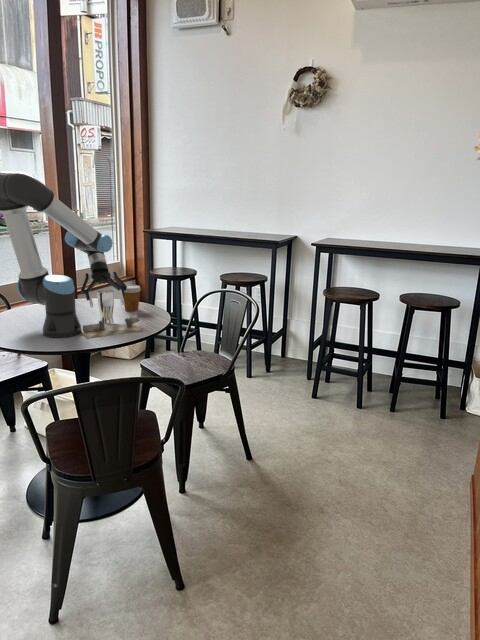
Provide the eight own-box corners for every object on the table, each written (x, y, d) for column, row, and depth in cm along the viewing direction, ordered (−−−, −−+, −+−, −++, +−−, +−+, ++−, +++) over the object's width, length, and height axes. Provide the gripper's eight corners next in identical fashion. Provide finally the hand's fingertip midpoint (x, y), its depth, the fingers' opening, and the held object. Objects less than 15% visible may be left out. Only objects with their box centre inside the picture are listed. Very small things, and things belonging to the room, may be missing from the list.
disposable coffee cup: (143, 308, 242) (143, 285, 239) (138, 313, 233) (137, 289, 230) (125, 307, 243) (124, 284, 240) (119, 312, 234) (118, 288, 231)
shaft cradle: (86, 338, 194) (85, 324, 193) (79, 331, 202) (78, 318, 201) (143, 330, 207) (143, 317, 205) (135, 324, 215) (134, 312, 213)
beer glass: (118, 323, 215) (116, 290, 211) (106, 327, 210) (105, 293, 206) (107, 321, 219) (105, 288, 215) (95, 324, 213) (93, 291, 209)
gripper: (124, 268, 230) (133, 306, 221) (69, 271, 218) (77, 311, 210) (126, 259, 224) (136, 297, 215) (70, 261, 212) (79, 302, 204)
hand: (107, 304), depth 212 cm, fingers open, 13 cm apart
